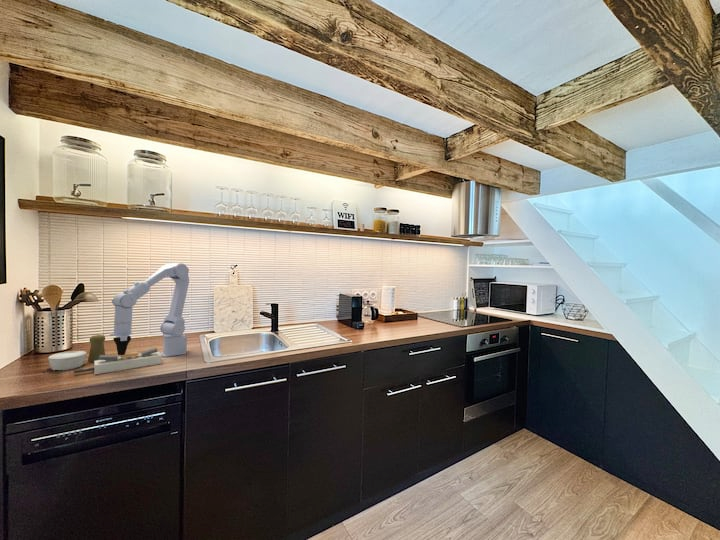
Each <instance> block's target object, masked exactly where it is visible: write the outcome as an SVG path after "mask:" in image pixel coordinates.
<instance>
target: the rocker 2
mask: <svg viewBox="0 0 720 540" xmlns="http://www.w3.org/2000/svg"><path fill="white" fill-rule="evenodd" d="M156 352H159V351H158V348H157V347H154V348H150V349H147V350H143V351H141V352H140V354H141V355H142V357H143V356H146V355H149V354H152V353H156Z"/></svg>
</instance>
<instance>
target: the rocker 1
mask: <svg viewBox="0 0 720 540" xmlns="http://www.w3.org/2000/svg"><path fill="white" fill-rule="evenodd" d="M118 356H119V355H113V354H112V355H111V354H109V355H108V354H105V355H100V356H99V360H117V358H118Z"/></svg>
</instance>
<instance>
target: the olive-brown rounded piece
mask: <svg viewBox="0 0 720 540" xmlns="http://www.w3.org/2000/svg"><path fill="white" fill-rule="evenodd" d="M105 341H106V336H105V335H103V334H96V335H91V336H90V337H89V343H90V347H89V352H88V359H87V362H88V363H94V361H96V360H99V356H100V355H106V350H105V343H104V342H105Z"/></svg>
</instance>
